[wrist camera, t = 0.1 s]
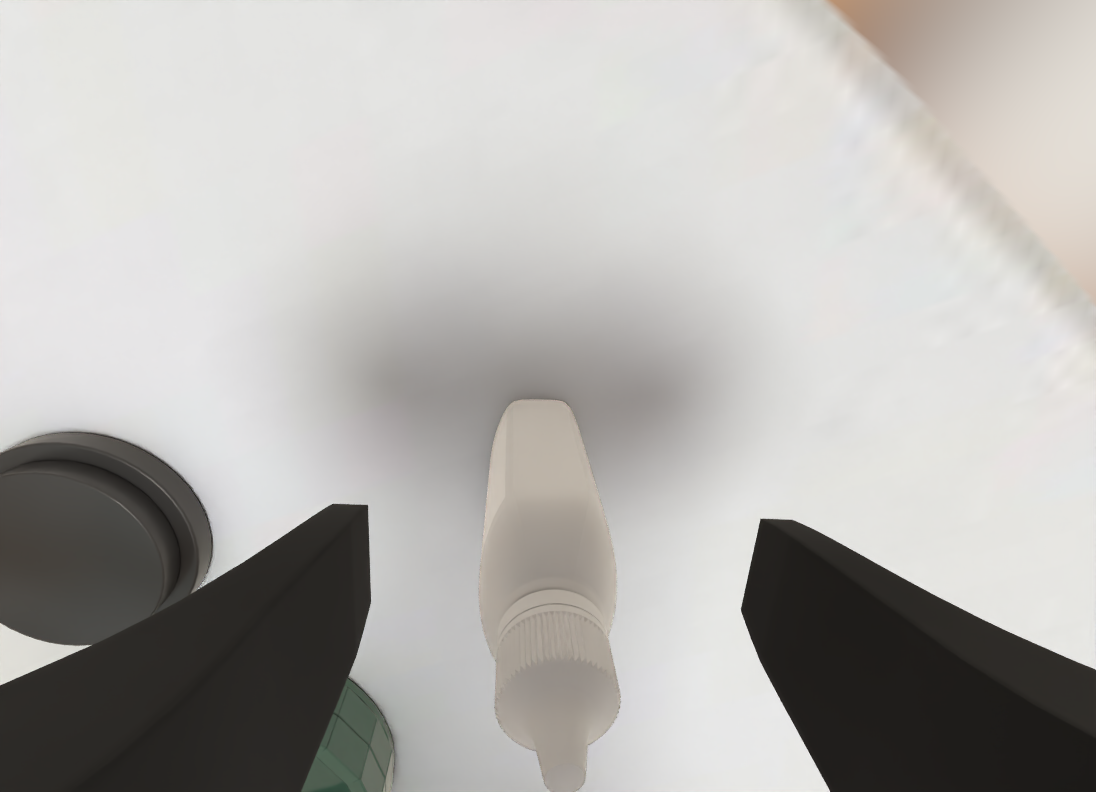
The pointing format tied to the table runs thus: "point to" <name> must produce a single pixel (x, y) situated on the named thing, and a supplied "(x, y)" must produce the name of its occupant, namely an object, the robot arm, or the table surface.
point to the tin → (353, 748)
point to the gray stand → (93, 538)
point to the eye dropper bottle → (548, 590)
